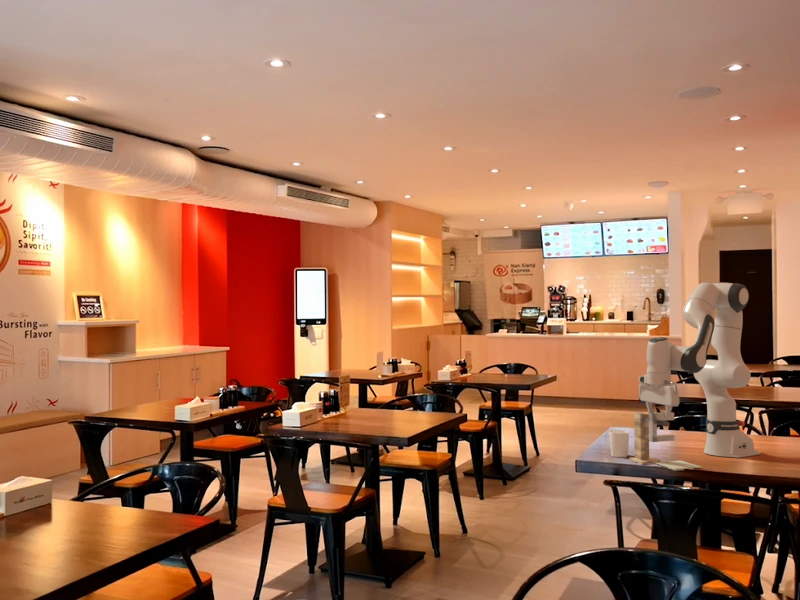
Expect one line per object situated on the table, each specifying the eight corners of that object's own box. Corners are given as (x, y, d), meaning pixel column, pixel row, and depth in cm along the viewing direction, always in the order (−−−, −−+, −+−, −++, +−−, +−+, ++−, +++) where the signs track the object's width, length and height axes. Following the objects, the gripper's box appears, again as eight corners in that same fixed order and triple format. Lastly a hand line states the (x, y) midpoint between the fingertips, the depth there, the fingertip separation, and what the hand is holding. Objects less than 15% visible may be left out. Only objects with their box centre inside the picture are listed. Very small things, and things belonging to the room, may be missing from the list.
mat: (680, 461, 284) (680, 460, 284) (701, 468, 273) (701, 466, 273) (655, 464, 281) (655, 462, 281) (675, 470, 269) (675, 469, 269)
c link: (671, 439, 280) (670, 411, 280) (674, 440, 278) (674, 412, 278) (649, 441, 277) (648, 413, 277) (652, 442, 275) (652, 413, 275)
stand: (648, 458, 291) (647, 412, 291) (677, 468, 273) (677, 418, 274) (629, 460, 288) (628, 413, 288) (657, 470, 271) (657, 419, 271)
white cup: (630, 458, 292) (630, 433, 292) (610, 457, 294) (610, 433, 294) (628, 454, 300) (628, 430, 300) (608, 453, 302) (608, 429, 302)
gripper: (683, 381, 268) (683, 418, 268) (649, 376, 288) (649, 411, 288) (669, 382, 266) (669, 419, 266) (635, 377, 286) (635, 412, 286)
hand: (658, 415), depth 277 cm, fingers open, 8 cm apart
